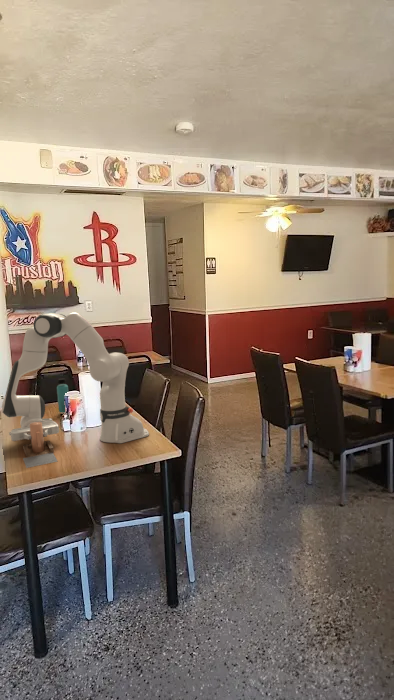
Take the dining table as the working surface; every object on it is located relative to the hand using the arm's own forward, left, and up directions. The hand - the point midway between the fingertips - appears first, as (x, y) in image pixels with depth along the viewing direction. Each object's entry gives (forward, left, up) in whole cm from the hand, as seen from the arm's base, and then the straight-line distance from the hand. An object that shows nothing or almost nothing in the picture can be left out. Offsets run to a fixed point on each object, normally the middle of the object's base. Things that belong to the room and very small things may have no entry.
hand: (37, 436), depth 199 cm
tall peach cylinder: (0, +1, -7) cm, 7 cm away
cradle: (0, -1, -7) cm, 7 cm away
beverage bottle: (-22, -58, -7) cm, 62 cm away
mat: (+1, +11, -7) cm, 13 cm away
